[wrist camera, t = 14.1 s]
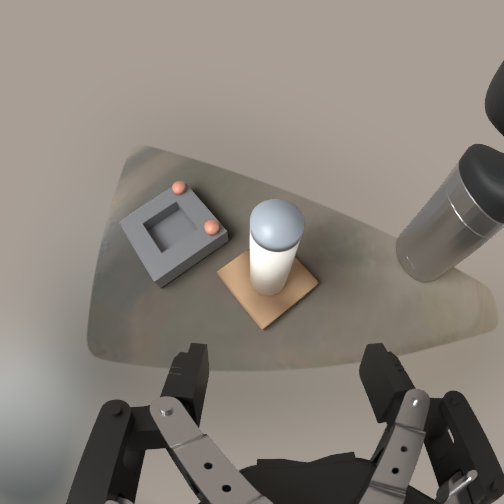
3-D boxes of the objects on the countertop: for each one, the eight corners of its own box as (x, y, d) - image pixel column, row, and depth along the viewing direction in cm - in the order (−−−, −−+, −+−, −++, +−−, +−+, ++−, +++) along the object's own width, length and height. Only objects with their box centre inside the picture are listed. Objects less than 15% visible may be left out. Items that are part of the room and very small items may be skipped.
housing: (186, 191, 41) (181, 175, 38) (228, 240, 37) (226, 227, 34) (125, 230, 38) (116, 217, 34) (160, 288, 34) (151, 278, 31)
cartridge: (270, 255, 35) (280, 190, 23) (293, 281, 34) (315, 225, 22) (242, 275, 34) (239, 216, 22) (265, 303, 32) (274, 255, 21)
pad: (271, 236, 38) (272, 232, 37) (317, 285, 35) (318, 282, 34) (217, 274, 35) (216, 271, 34) (262, 330, 32) (262, 328, 31)
